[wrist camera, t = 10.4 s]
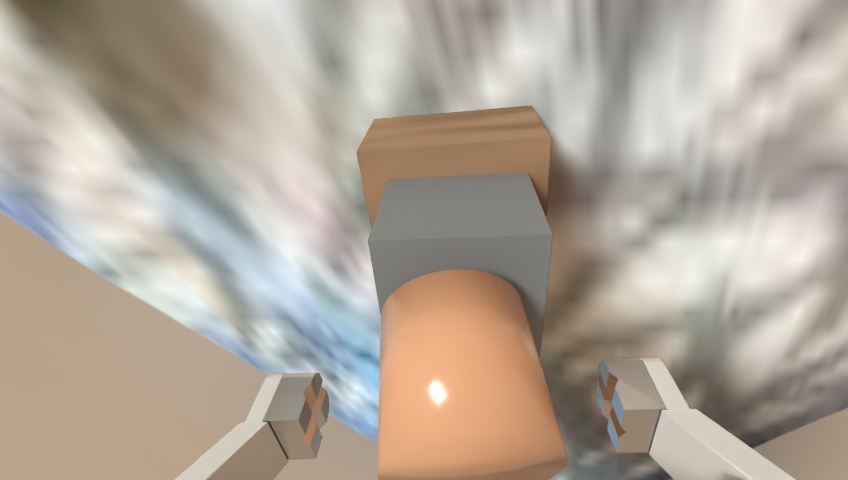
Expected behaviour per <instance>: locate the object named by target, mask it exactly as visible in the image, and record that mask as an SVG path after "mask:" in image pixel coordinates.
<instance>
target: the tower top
mask: <svg viewBox="0 0 848 480" xmlns="http://www.w3.org/2000/svg"><path fill="white" fill-rule="evenodd" d="M552 238H553V234H552V231H551V229H550V226H549V224H548V221H547V219H546V216H545V214H544V211H543V209H542V206H541V204H540V201H539V199H538V196H537V194H536V191H535V189H534V186H533V184H532V182H531V179H530V177H529V174H528V173H507V174H485V175H464V176H442V177H421V178H399V179H387V182H386V185H385V188H384V191H383V195H382V198H381V201H380V204H379V207H378V211H377V214H376V217H375V220H374V223H373V226H372V230H371V233H370V236H369V239H368V244H369V249H370V255H371V261H372V267H373V273H374V278H375V284H376V290H377V296H378V302H379V307H380V313H381V311H382V308H383V306H384V304H385V302H386V300H387V299H388V298H389V297H390V295H391V294H392V293H393V292H395V291H396V290H397V289H398V288H399V287H401V286H402V285H404V284H405V283H407V282H409V281H411V280H413V279H415V278H418V277H420V276H423V275H426V274H429V273H433V272H438V271H444V270H453V269H467V270H477V271H483V272H487V273H491V274H493V275H496V276H498V277H501V278H502V279H504V280H506V281H507V282H509V283H510V284H511V285H513V287H514V288H515V289H516V290H517V291H518V293H519V294H520V296H521V299H522V302H523V306H524V309H525V312H526V316H527V319H528V323H529V326H530V330H531V333H532V336H533V340H534V343H535V347H536V350H537V353H538V357H540V347H541V338H542V329H543V320H544V311H545V302H546V293H547V284H548V274H549V265H550V256H551V247H552Z"/></svg>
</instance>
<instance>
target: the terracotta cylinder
mask: <svg viewBox="0 0 848 480" xmlns="http://www.w3.org/2000/svg"><path fill="white" fill-rule="evenodd" d="M567 461H568V456H567V453H566V449H565V446H564V442H563V439H562V435H561V432H560V429H559V425H558V422H557V418H556V415H555V412H554V408H553V405H552V401H551V398H550V394H549V391H548V388H547V384H546V381H545V377H544V374H543V371H542V367H541V364H540V360H539V357H538V353H537V350H536V347H535V343H534V340H533V336H532V333H531V330H530V326H529V323H528V319H527V316H526V312H525V309H524V306H523V302H522V299H521V296H520V294H519V293H518V291H517V290H516V289H515V288H514V287H513V285H511V284H510V283H509V282H507V281H506V280H504V279H502V278H501V277H498V276H496V275H493V274H491V273H487V272H483V271H477V270H467V269H453V270H444V271H438V272H433V273H429V274H426V275H423V276H420V277H418V278H415V279H413V280H411V281H409V282H407V283H405V284H404V285H402V286H401V287H399V288H398V289H397V290H396V291H395V292H393V293H392V294H391V295H390V297H389V298H388V299H387V300H386V302H385V304H384V306H383V308H382V311H381V327H380V378H379V428H378V480H548V479H550V478H552V477H554V476H555V475H556V474H558V473H559V472H560V471H561V470H562V469H563V468H564V467H565V465H566V463H567Z"/></svg>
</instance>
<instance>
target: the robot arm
mask: <svg viewBox="0 0 848 480" xmlns="http://www.w3.org/2000/svg"><path fill="white" fill-rule="evenodd" d="M599 371H600V374H601V377H600V378H599V379H598V380H597V386H596V390H597V399H598V403H599V407H600V410H601V413H602V415H603V416H605V417H606V418H607V419H608V420H609V421H608V427H607V430H608V433H609V436H610V438H611V441H612V444H613V447H614V449H615V452H627V453H649V455H650V456H651V457H652V458H653V459H654V460H655V461H656V462H657V463H658V464H659V465H660V466H661V467H662V468H663V469H664V470H665V471H666V472H667V473H668V474H669V475H670V476H671V477H672V478H673V479H674V480H796V479H794V478H793V477H791V476H790V475H789V474H787V473H786V472H784V471H783V470H781V469H780V468H779V467H777V466H776V465H774V464H773V463H772V462H770V461H769V460H767V459H766V458H765V457H763V456H762V455H760V454H759V453H758V452H756V451H755V450H753V449H752V448H751V447H749V446H748V445H746V444H745V443H743V442H742V441H741V440H739V439H738V438H736V437H735V436H734V435H732V434H731V433H729V432H728V431H727V430H725V429H724V428H722V427H721V426H720V425H718V424H717V423H715V422H714V421H712V420H711V419H710V418H708V417H707V416H705V415H704V414H703V413H701V412H700V411H698V410H697V409H690V408H689V406H688V404H687V402H686V401H685V399H684V397H683V395H682V394H681V392H680V390H679V388H678V387H677V385H676V383H675V381H674V380H673V378H672V376H671V374H670V373H669V371H668V369H667V367H666V366H665V364H664V362H663V360H661V359H660V358H659V357H655V358H639V359H638V358H628V359H610V360H601V362H600V364H599ZM322 381H323V380H322V378H321V376H320V374H319V373H288V374H269V375H268V376H267V377H266V379H265V380H264V382H263V385H262V387H261V389H260V391H259V393H258V396H257V397H256V400H255V402H254V404H253V406H252V408H251V411H250V413H249V415H248V417H247V419H246V421H245V423H239V424H238V425H237V426H236V427H235V428H234V429H232V430H231V431H230V432H229V433H228V434H227V435H226V436H224V437H223V438H222V439H221V440H220V441H219V442H217V443H216V444H215V445H214V446H213V447H212V448H211V449H210V450H208V451H207V452H206V453H205V454H204V455H203V456H201V457H200V458H199V459H198V460H197V461H196V462H194V463H193V464H192V465H191V466H190V467H189V468H188V469H186V470H185V471H184V472H183V473H182V474H181V475H179V476H178V477H177V478H176V479H175V480H273V479H274V478H275V477H276V476H277V475H278V473H279V472H280V471H281V470H282V469H283V467H284V466H285V465H286V464H287V463H288V460H292V459H314V458H316V457H317V454H318V450H319V447H320V443H321V440H322V435H321V432H320V430H319V429H320V428H321V427H322V426H323V425H324V424H325V423H326V422H327V418H328V414H329V397H328V394H327V391H326V390H325V389H324V388H322V387H321V384H322Z"/></svg>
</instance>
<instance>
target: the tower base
mask: <svg viewBox="0 0 848 480" xmlns="http://www.w3.org/2000/svg"><path fill="white" fill-rule="evenodd" d="M550 151H551V136H550V134H549V132H548V131H547V129H546V128H545V126H544V125H543V123H542V122H541V120H540V118H539V117H538V115H537V114H536V112H535V111H534V109H533V108H532V106H521V107H510V108H498V109H487V110H475V111H463V112H452V113H440V114H429V115H417V116H406V117H394V118H383V119H374V121H373V123H372V125H371V126H370V128H369V130H368V132H367V134H366V136H365V138H364V139H363V141H362V143H361V145H360V147H359V149H358V150H357V157H358V162H359V167H360V173H361V178H362V183H363V188H364V193H365V198H366V203H367V209H368V214H369V219H370V224H371V229H372V226H373V223H374V220H375V217H376V214H377V211H378V207H379V204H380V201H381V198H382V195H383V191H384V188H385V185H386V182H387V179H399V178H421V177H442V176H464V175H485V174H507V173H528V174H529V177H530V179H531V182H532V184H533V186H534V189H535V191H536V194H537V196H538V199H539V201H540V204H541V206H542V209H543V211H544V214H545V216H546V212H547V197H548V181H549V166H550Z"/></svg>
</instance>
